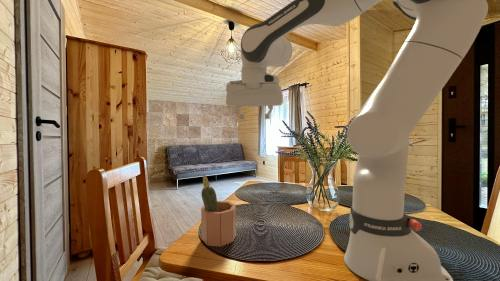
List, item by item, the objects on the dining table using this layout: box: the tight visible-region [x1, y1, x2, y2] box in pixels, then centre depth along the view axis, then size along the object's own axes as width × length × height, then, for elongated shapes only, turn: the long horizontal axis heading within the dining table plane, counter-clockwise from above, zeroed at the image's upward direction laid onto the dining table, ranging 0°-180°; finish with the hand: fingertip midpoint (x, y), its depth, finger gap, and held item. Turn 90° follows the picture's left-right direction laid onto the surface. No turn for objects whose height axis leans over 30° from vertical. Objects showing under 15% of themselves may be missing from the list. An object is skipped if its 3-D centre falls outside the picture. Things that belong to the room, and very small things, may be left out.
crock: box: [200, 200, 237, 248], centre depth 73 cm, size 10×10×10 cm
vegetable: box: [201, 173, 219, 212], centre depth 71 cm, size 4×4×20 cm
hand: (254, 119), depth 83 cm, fingers open, 8 cm apart
